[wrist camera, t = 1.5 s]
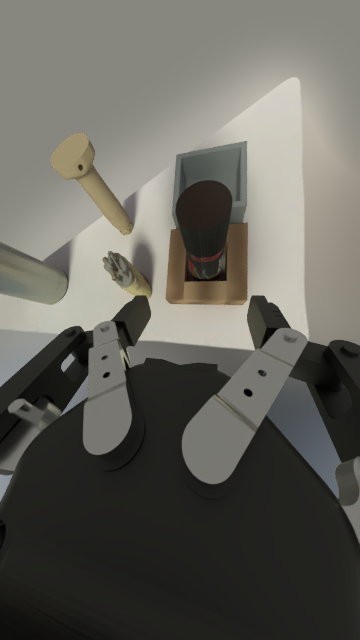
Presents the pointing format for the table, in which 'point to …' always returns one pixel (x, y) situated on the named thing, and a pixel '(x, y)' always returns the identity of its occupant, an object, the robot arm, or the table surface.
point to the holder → (209, 291)
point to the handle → (89, 178)
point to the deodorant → (204, 226)
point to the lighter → (126, 275)
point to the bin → (215, 174)
